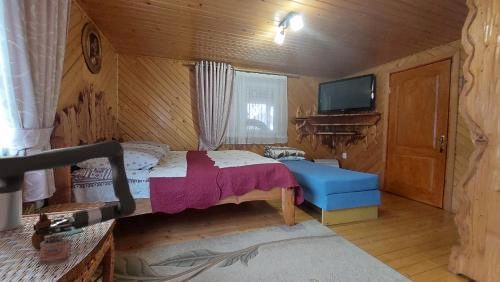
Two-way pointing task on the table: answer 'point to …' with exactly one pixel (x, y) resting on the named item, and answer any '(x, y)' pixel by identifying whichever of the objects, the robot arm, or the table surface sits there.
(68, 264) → the table surface
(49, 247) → the lighter
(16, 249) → the table surface
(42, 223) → the wooden figurine
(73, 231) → the mat
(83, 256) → the table surface
